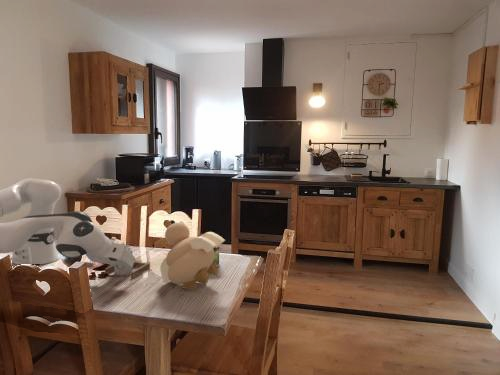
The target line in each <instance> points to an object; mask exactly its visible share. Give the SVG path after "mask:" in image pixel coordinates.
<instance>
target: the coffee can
mask: <svg viewBox="0 0 500 375" xmlns="http://www.w3.org/2000/svg"><path fill="white" fill-rule="evenodd" d="M205 233H206V232H205ZM205 233H200V234H197V237H199V236H201V235H203V234H205ZM216 234H217V235H219V236H220V234H218V233H216ZM213 250H214V253H215V257H214V261H213V263H214V262H216V261H217V267H219V265H220V246H219V247H217V248H216V247H214V248H213ZM213 263H212V264H213Z"/></svg>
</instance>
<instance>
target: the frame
mask: <svg viewBox="0 0 500 375" xmlns="http://www.w3.org/2000/svg"><path fill="white" fill-rule="evenodd" d="M150 267H151V266H150V263H149V262H141V261H136V260H135V262H134V264H133V268H135V269H133V271H132V272H131V273H130V275H131V276H130V278H131V279H135V278H136V277H138V276H139V275H141V274H143V273H145V272H146V271H148V270H150V269H151V268H150ZM113 272H115V267H114V266H113V265H110V266H108V267H106V268H104V274H105V273H107V275H110V274H111V273H113Z"/></svg>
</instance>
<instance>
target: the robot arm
mask: <svg viewBox="0 0 500 375" xmlns="http://www.w3.org/2000/svg"><path fill="white" fill-rule="evenodd" d="M61 196H62V188H61V186H60V185H59V184H58V183H56V182H55V181H52V180H49V179H42V178H41V179H40V178H24V179H20V180H18V181H17V182H16V183H14V184H12V185H10V186H8V187H5V188H2V189H0V218H2V217H5V216H7V215H11V214H13V213H17V212H18V211H20V210H21V209H22V208H23V207H24V206H27V205H28V204H30V209H29V211H28V212H27V213H26V215H25V216H23V217H21V218H20V219H16V220H14V221H10V222H0V254H8V253H12V255H11V256H10V257H11V260H12V263H11V264H15V265H19V264H34V265H33V266H36V265H35V264H40V265H47V264H50V263H53V262H55V261H57V260H59V256H58V255H59V254H60V255H61V256H62V257H65V258H67V259H76V258H80V257H82V256H84V255H85V256H86V257H87V259H88V260H89V261H90V262H93V263H99V264H104V265H105V264H106V265H107V264H108V265H110V266H112V265H113V266H114V267H116V268H121V267H122V266H128V267H132V266H133V264H134V262H135V261H136V258H135V256H134V255H133V253H132V254H131V252H130V251H128V250H127V249H126V246H125V245H123V244H119V243H116V242H114V241H112V240H111V239H110V238H109V237H108V236H106V235H105V233H104V231H103V230H102V229H101V228H100V227H98V226H97V225H96V224H95V223H93V220H92V218H91V217H90V216H89V215H88V213H86V212H84V211H81V210H75V211H69V212H65V213H64V212H63V213H54V209H55V206H56V204H57V202H58V201H60V198H61ZM56 228H57V229H59V228H61V231H60V234H59V236H58V239H57V242H55V236H56V235H55V233H56V232H55V230H54V229H56ZM58 253H59V254H58ZM19 266H20V265H19Z"/></svg>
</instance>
